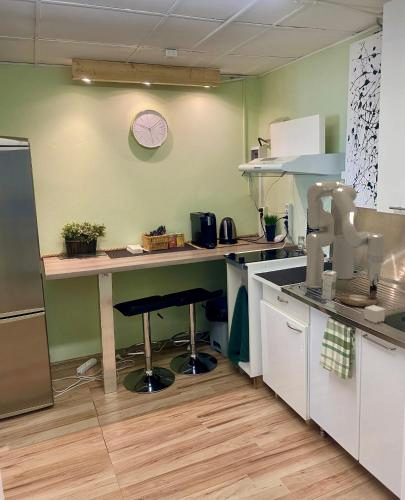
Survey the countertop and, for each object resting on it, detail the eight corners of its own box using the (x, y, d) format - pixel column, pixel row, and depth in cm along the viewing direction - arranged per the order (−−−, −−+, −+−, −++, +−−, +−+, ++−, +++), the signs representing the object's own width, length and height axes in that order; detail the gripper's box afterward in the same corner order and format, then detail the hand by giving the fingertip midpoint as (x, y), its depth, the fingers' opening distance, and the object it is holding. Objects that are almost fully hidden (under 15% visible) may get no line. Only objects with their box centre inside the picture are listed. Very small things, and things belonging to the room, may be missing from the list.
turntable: (340, 293, 223) (340, 283, 222) (376, 296, 217) (377, 286, 216) (338, 304, 207) (339, 293, 206) (377, 307, 201) (378, 297, 200)
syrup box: (324, 295, 223) (325, 269, 220) (335, 298, 219) (336, 271, 216) (320, 298, 219) (321, 272, 216) (331, 300, 215) (332, 273, 212)
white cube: (372, 317, 192) (373, 304, 191) (384, 321, 187) (385, 308, 186) (364, 319, 189) (364, 307, 188) (375, 324, 184) (376, 311, 183)
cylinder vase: (327, 276, 260) (329, 236, 255) (343, 273, 265) (345, 234, 260) (342, 281, 249) (344, 240, 244) (357, 278, 254) (360, 237, 249)
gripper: (364, 255, 216) (363, 288, 220) (369, 261, 202) (367, 297, 206) (380, 255, 214) (378, 289, 218) (385, 262, 200) (383, 298, 204)
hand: (373, 293), depth 212 cm, fingers closed
